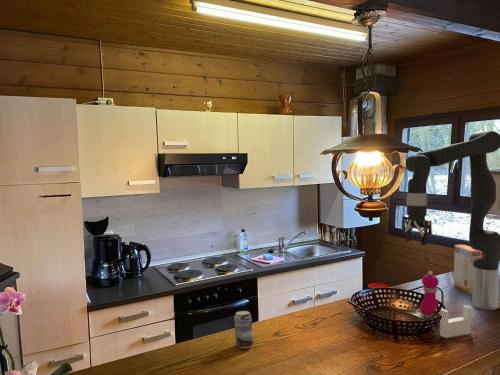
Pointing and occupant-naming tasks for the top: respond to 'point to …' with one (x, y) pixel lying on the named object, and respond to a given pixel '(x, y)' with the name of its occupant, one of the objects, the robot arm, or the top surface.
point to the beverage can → (243, 329)
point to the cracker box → (464, 267)
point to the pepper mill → (429, 294)
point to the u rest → (455, 323)
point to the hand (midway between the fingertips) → (416, 242)
